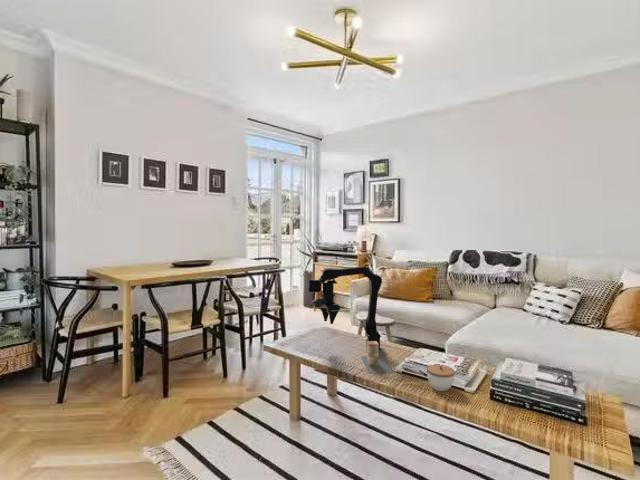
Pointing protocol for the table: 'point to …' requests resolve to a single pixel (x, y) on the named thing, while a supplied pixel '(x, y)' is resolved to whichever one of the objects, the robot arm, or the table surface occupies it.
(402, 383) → the table surface
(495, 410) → the table surface
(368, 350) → the tan long rectangular block
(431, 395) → the table surface
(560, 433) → the table surface
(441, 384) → the lidded jar
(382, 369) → the rubber mat
